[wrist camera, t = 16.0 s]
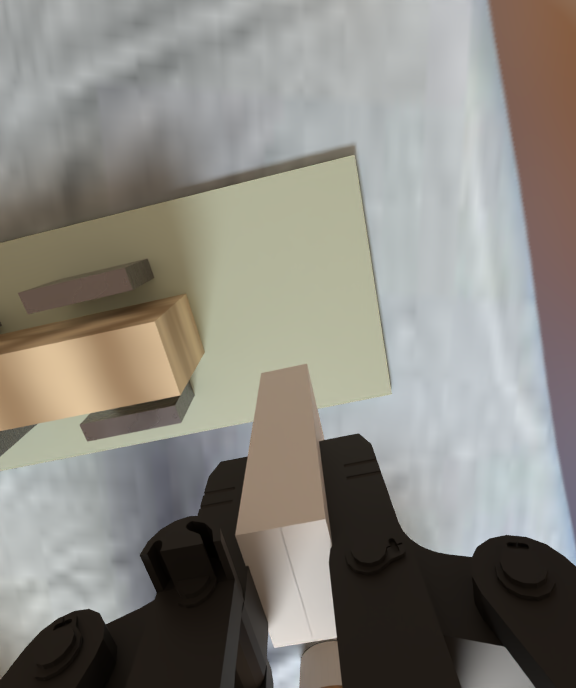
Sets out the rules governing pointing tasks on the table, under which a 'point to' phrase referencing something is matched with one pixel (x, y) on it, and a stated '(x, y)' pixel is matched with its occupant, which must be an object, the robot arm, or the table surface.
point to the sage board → (224, 295)
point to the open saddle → (93, 288)
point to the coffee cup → (321, 666)
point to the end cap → (12, 435)
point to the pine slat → (97, 362)
